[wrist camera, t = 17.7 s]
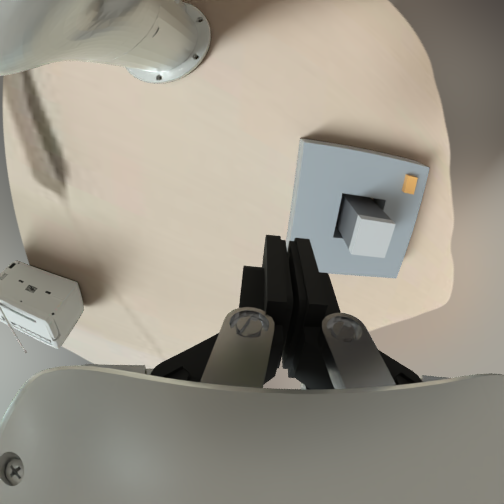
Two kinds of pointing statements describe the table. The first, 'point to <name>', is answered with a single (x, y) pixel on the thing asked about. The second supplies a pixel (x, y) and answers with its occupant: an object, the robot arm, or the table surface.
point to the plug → (364, 226)
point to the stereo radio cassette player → (39, 303)
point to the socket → (356, 183)
